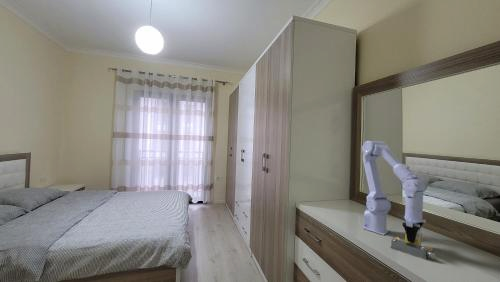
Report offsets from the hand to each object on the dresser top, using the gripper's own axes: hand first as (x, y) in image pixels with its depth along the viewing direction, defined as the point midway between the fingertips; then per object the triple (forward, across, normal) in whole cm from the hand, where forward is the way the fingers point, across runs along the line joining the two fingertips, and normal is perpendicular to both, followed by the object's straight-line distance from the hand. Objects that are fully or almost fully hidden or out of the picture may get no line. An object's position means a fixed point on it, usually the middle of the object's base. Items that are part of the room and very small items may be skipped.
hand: (412, 239), depth 89 cm
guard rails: (+3, -1, 0) cm, 3 cm away
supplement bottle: (+3, 0, 0) cm, 3 cm away
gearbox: (+3, -7, -1) cm, 7 cm away
